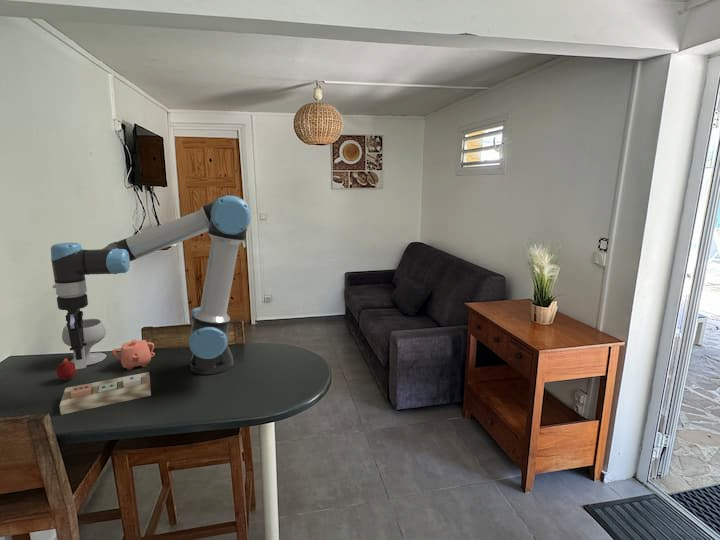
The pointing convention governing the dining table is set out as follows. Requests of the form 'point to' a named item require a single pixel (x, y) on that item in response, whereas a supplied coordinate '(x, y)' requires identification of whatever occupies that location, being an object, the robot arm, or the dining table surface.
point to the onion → (66, 370)
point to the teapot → (135, 354)
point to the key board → (105, 395)
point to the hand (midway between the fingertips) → (80, 367)
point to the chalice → (89, 339)
